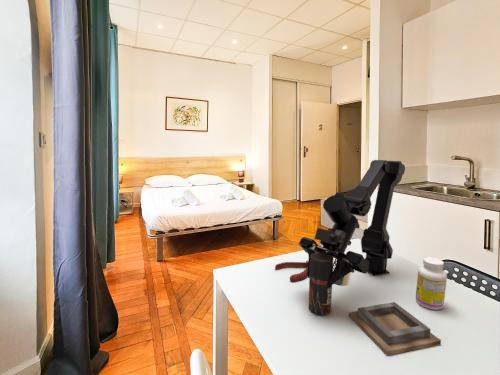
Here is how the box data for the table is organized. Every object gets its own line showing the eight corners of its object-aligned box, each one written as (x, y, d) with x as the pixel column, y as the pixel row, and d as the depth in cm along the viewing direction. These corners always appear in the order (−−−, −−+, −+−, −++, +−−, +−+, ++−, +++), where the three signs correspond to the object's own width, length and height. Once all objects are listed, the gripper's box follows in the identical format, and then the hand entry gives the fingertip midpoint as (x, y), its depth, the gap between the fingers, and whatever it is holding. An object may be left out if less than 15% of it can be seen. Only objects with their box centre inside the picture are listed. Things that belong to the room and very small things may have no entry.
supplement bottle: (418, 294, 81) (423, 253, 79) (445, 303, 77) (450, 260, 75) (412, 303, 77) (416, 260, 75) (440, 314, 72) (445, 268, 70)
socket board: (394, 308, 75) (395, 298, 74) (440, 344, 61) (441, 332, 61) (348, 315, 72) (349, 305, 71) (386, 355, 58) (388, 343, 58)
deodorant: (327, 318, 70) (329, 263, 68) (305, 311, 74) (306, 258, 71) (333, 307, 75) (336, 255, 73) (312, 300, 78) (314, 251, 76)
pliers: (339, 271, 97) (339, 264, 97) (291, 284, 89) (292, 277, 88) (318, 259, 107) (318, 253, 107) (273, 270, 99) (273, 263, 98)
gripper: (303, 210, 80) (277, 256, 74) (365, 223, 66) (339, 281, 61) (318, 230, 86) (295, 274, 81) (377, 246, 73) (354, 301, 67)
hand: (317, 281), depth 72 cm, fingers closed on deodorant, 6 cm apart
